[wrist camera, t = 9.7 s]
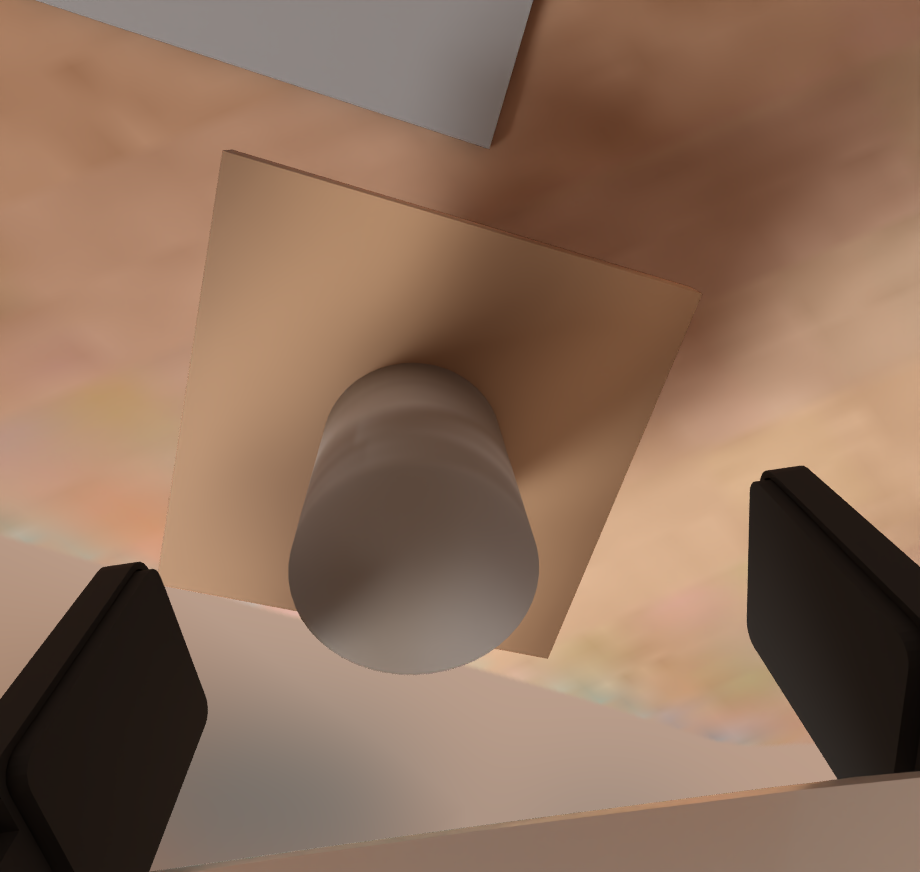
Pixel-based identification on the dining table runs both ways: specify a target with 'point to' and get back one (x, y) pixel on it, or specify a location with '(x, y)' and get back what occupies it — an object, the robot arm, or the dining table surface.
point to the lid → (405, 418)
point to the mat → (352, 49)
